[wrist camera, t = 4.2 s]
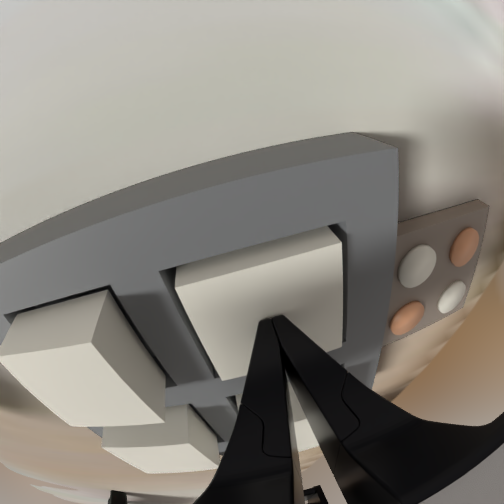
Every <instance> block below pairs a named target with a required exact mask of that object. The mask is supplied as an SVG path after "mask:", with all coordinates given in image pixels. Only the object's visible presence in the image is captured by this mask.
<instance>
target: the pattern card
mask: <svg viewBox="0 0 504 504" xmlns="http://www.w3.org/2000/svg"><path fill="white" fill-rule="evenodd" d="M488 211H489V206H488V205H486V204H485V203H483V202H481V201H480V200H478V199H477V200H474V201H471V202H468V203H464V204H461V205H457V206H454V207H451V208H447V209H444V210H441V211H437V212H434V213H430V214H427V215H424V216H420V217H417V218H413V219H410V220H406V221H403V222H400V223H398V227H397V242H396V254H395V265H394V274H393V282H392V290H391V297H390V304H389V310H388V316H387V322H386V328H385V333H384V338H383V343H382V347H383V346H386V345H388V344H390V343H393V342H395V341H397V340H399V339H402V338H404V337H406V336H408V335H410V334H413V333H415V332H417V331H419V330H421V329H423V328H425V327H427V326H429V325H431V324H433V323H435V322H437V321H439V320H441V319H443V318H445V317H447V316H448V315H450V314H452V313H454V312H456V311H458V310H459V309H461V308H463V306H464V303H465V300H466V297H467V294H468V291H469V288H470V285H471V282H472V279H473V275H474V272H475V268H476V265H477V261H478V257H479V253H480V249H481V245H482V241H483V236H484V232H485V227H486V222H487V216H488Z"/></svg>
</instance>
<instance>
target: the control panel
mask: <svg viewBox="0 0 504 504" xmlns="http://www.w3.org/2000/svg"><path fill="white" fill-rule="evenodd" d="M398 202H399V162H398V148H397V147H394V146H392V145H389V144H386V143H383V142H381V141H378V140H375V139H372V138H369V137H366V136H363V135H360V134H357V133H354V132H349V133H342V134H336V135H329V136H323V137H317V138H311V139H306V140H301V141H295V142H290V143H285V144H280V145H276V146H271V147H266V148H262V149H257V150H253V151H249V152H245V153H240V154H236V155H232V156H228V157H225V158H221V159H217V160H213V161H210V162H206V163H202V164H199V165H195V166H192V167H188V168H185V169H182V170H178V171H175V172H172V173H169V174H165V175H162V176H159V177H156V178H153V179H150V180H147V181H144V182H141V183H138V184H135V185H133V186H130V187H127V188H124V189H121V190H119V191H116V192H113V193H111V194H108V195H105V196H103V197H100V198H98V199H95V200H93V201H90V202H88V203H85V204H83V205H80V206H78V207H75V208H73V209H71V210H68V211H66V212H64V213H61V214H59V215H57V216H55V217H52V218H50V219H48V220H46V221H44V222H42V223H39V224H37V225H35V226H33V227H31V228H29V229H27V230H25V231H23V232H21V233H19V234H17V235H15V236H13V237H11V238H9V239H7V240H5V241H3V242H2V243H0V345H1V344H2V342H3V340H4V338H5V336H6V334H7V332H8V330H9V328H10V326H11V325H12V323H13V321H14V319H15V317H16V315H17V314H20V313H24V312H27V311H31V310H35V309H38V308H42V307H45V306H49V305H53V304H56V303H60V302H64V301H67V300H71V299H75V298H78V297H82V296H86V295H89V294H93V293H97V292H100V291H104V290H109V292H110V293H111V295H112V297H113V298H114V300H115V302H116V303H117V305H118V307H119V308H120V310H121V311H122V313H123V315H124V316H125V318H126V319H127V321H128V322H129V324H130V326H131V327H132V329H133V330H134V332H135V333H136V335H137V336H138V338H139V339H140V340H141V342H142V343H143V345H144V346H145V348H146V349H147V351H148V352H149V353H150V355H151V356H152V358H153V359H154V360H155V362H156V363H157V364H158V366H159V367H160V368H161V370H162V371H163V372H164V374H165V375H166V381H165V407H171V406H178V405H185V404H189V405H190V406H191V407H192V409H193V410H194V411H195V412H196V413H197V414H198V415H199V417H200V418H201V419H202V420H203V421H204V422H205V423H206V424H207V426H208V427H209V428H210V429H211V430H212V431H213V432H214V433H215V434H216V435H217V442H218V450H219V452H225V450H226V447H227V445H228V442H229V440H230V437H231V434H232V431H233V429H234V425H235V422H236V418H237V415H238V407H237V402H236V396H235V395H237V394H242V393H243V389H244V385H245V381H246V376H247V375H246V376H242V377H238V378H233V379H229V380H224V381H222V380H221V378H220V376H219V374H218V372H217V371H216V369H215V367H214V365H213V363H212V362H211V360H210V358H209V356H208V354H207V352H206V350H205V348H204V346H203V345H202V343H201V341H200V339H199V337H198V335H197V333H196V331H195V329H194V327H193V325H192V323H191V321H190V319H189V317H188V315H187V313H186V311H185V309H184V307H183V304H182V302H181V300H180V298H179V296H178V294H177V292H176V290H175V278H176V267H177V266H179V265H183V264H186V263H190V262H194V261H197V260H201V259H205V258H208V257H212V256H216V255H219V254H223V253H227V252H230V251H234V250H238V249H242V248H245V247H249V246H253V245H256V244H260V243H264V242H268V241H271V240H275V239H279V238H283V237H286V236H290V235H294V234H297V233H301V232H305V231H309V230H313V229H316V228H320V227H324V226H328V227H329V228H330V230H331V231H332V232H333V233H334V234H335V235H336V236H337V237H338V239H339V240H340V241H341V242H342V265H343V329H342V347H340V348H337V349H334V350H331V351H329V352H326V353H328V354H329V355H330V356H331V357H332V358H333V359H334V360H336V361H337V362H338V363H339V364H340V365H341V366H343V367H344V368H345V369H346V370H347V371H348V372H350V373H351V374H352V375H353V376H354V377H356V378H357V379H358V380H359V381H361V382H362V383H363V384H364V385H366V386H367V387H368V388H370V389H371V390H372V386H373V382H374V378H375V374H376V370H377V366H378V362H379V357H380V353H381V348H382V343H383V338H384V333H385V328H386V322H387V316H388V310H389V304H390V297H391V290H392V282H393V274H394V265H395V254H396V242H397V227H398ZM286 375H287V374H286ZM287 380H288V381H289V379H288V376H287ZM88 428H89V429H90V430H92V431H93V432H94V433H96V434H97V435H99V436H100V437H101V438H102V436H103V427H88Z"/></svg>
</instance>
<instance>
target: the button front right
mask: <svg viewBox="0 0 504 504" xmlns="http://www.w3.org/2000/svg"><path fill="white" fill-rule="evenodd" d="M175 290H176V292H177V294H178V296H179V298H180V300H181V302H182V304H183V307H184V309H185V311H186V313H187V315H188V317H189V319H190V321H191V323H192V325H193V327H194V329H195V331H196V333H197V335H198V337H199V339H200V341H201V343H202V345H203V346H204V348H205V350H206V352H207V354H208V356H209V358H210V360H211V362H212V363H213V365H214V367H215V369H216V371H217V372H218V374H219V376H220V378H221V380H222V381H224V380H229V379H233V378H238V377H242V376H246V375H247V372H248V367H249V363H250V358H251V354H252V349H253V345H254V340H255V336H256V331H257V326H258V322H259V321H260V320H264V319H267V318H270V319H272V317H274V316H278V315H284V316H285V317H287V318H288V319H289V320H290V321H291V322H292V323H293V324H294V325H296V326H297V327H298V328H299V329H300V330H301V331H302V332H304V333H305V334H306V335H307V336H308V337H309V338H310V339H311V340H313V341H314V342H315V343H316V344H317V345H318V346H319V347H321V348H322V349H323V350H324V351H325V352H329V351H331V350H334V349H337V348H340V347H342V329H343V265H342V242H341V241H340V240H339V239H338V237H337V236H336V235H335V234H334V233H333V232H332V231H331V230H330V228H329V227H328V226H324V227H320V228H316V229H313V230H309V231H305V232H301V233H297V234H294V235H290V236H286V237H283V238H279V239H275V240H271V241H268V242H264V243H260V244H256V245H253V246H249V247H245V248H242V249H238V250H234V251H230V252H227V253H223V254H219V255H216V256H212V257H208V258H205V259H201V260H197V261H194V262H190V263H186V264H183V265H179V266H177V267H176V278H175Z"/></svg>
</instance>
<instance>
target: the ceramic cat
mask: <svg viewBox="0 0 504 504" xmlns="http://www.w3.org/2000/svg"><path fill="white" fill-rule="evenodd" d="M108 504H127V496H126V493H123V492H117V491H113V490H112V491H111V495H110V499H109V500H108Z"/></svg>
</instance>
